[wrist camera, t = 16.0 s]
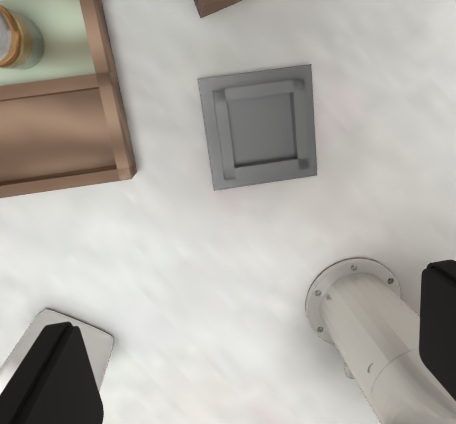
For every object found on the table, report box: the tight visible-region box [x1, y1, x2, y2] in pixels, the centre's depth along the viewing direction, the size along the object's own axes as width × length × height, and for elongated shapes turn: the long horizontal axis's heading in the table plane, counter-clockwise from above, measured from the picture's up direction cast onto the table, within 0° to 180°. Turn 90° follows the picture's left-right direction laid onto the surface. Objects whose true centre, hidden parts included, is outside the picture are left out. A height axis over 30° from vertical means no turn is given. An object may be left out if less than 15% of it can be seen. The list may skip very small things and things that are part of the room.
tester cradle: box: [198, 64, 317, 190], centre depth 40 cm, size 12×12×2 cm
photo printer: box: [0, 309, 114, 394], centre depth 41 cm, size 10×4×12 cm, turn 59°
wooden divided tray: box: [0, 0, 137, 198], centre depth 36 cm, size 20×17×4 cm
